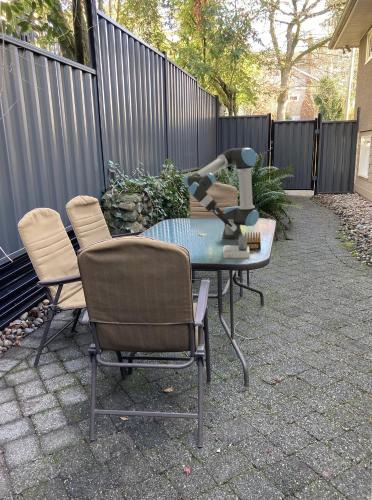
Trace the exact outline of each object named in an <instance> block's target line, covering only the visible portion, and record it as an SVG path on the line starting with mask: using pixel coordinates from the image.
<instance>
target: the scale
mask: <svg viewBox="0 0 372 500" xmlns="http://www.w3.org/2000/svg"><path fill="white" fill-rule="evenodd" d="M250 253H251V251H250V250H249V246H247V250H246V251H240V250H239V245H223V249H222V258H223V259H224V258H225V259H226V258H227V259H230V258H231V259H237V258H238V259H241V258H244V259H245V258H246V259H250V258H249V257H251V256H250Z"/></svg>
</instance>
